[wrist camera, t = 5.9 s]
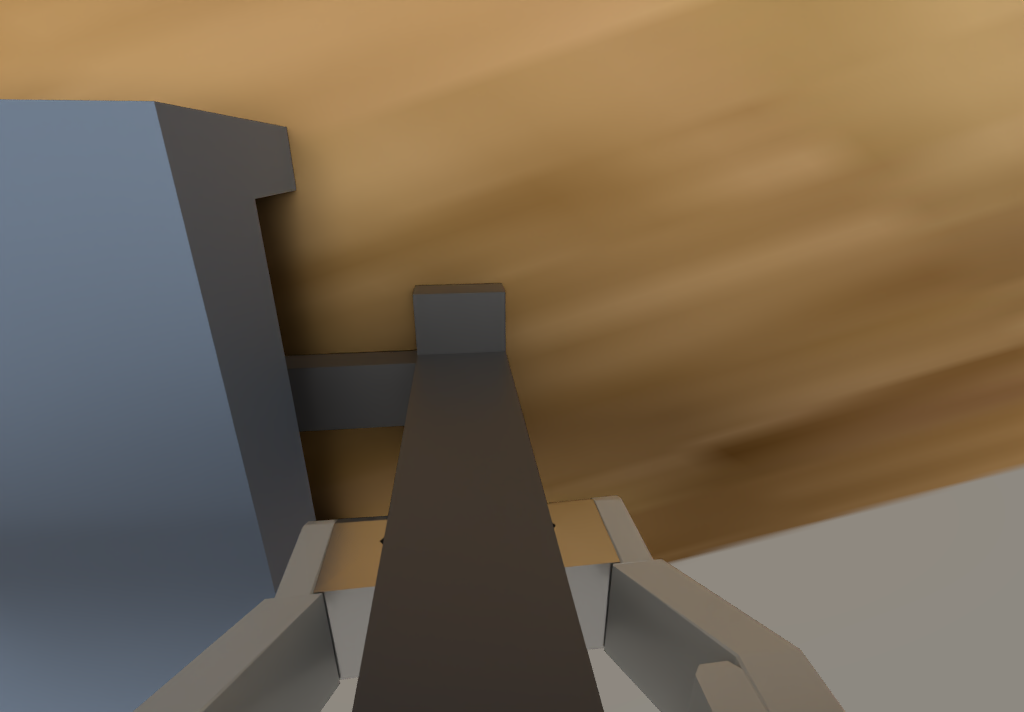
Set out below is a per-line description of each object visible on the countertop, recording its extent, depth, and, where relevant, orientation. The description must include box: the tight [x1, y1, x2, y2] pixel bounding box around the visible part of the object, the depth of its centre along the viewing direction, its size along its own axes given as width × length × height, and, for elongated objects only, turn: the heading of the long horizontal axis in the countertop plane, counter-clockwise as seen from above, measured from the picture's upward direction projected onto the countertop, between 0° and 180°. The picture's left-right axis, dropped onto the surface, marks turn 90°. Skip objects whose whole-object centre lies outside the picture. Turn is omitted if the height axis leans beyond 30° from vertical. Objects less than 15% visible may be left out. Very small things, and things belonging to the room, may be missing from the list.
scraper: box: [285, 283, 604, 712], centre depth 9 cm, size 12×7×13 cm, turn 90°
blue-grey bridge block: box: [0, 100, 316, 712], centre depth 12 cm, size 7×14×6 cm, turn 0°
